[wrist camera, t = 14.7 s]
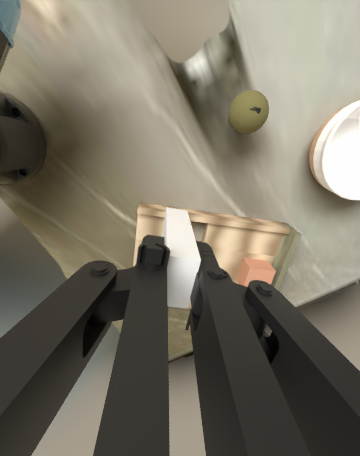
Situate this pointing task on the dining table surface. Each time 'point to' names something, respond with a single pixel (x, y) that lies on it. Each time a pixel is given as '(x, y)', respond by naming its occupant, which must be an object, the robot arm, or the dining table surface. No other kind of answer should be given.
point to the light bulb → (248, 111)
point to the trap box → (230, 238)
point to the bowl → (338, 153)
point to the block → (255, 271)
